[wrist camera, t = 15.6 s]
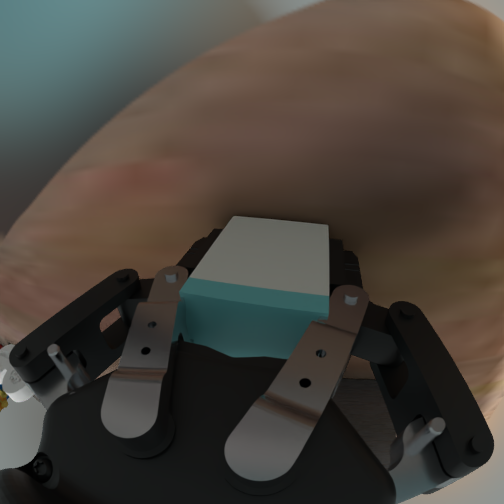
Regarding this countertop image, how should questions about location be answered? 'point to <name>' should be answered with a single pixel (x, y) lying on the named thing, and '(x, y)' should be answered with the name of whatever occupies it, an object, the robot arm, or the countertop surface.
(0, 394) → the toy robot
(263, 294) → the plug
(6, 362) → the letter
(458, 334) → the countertop surface
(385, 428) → the housing
